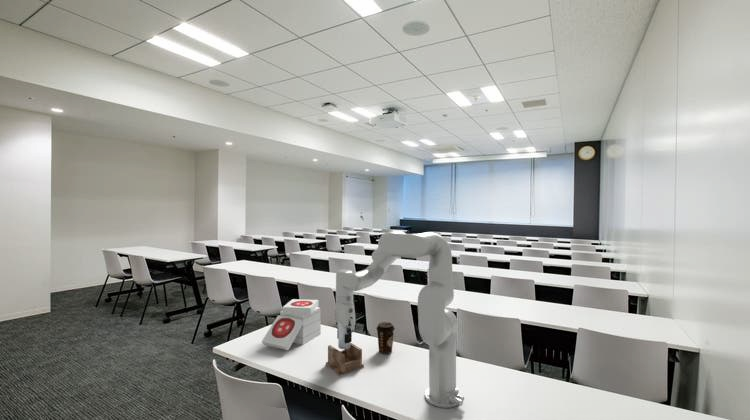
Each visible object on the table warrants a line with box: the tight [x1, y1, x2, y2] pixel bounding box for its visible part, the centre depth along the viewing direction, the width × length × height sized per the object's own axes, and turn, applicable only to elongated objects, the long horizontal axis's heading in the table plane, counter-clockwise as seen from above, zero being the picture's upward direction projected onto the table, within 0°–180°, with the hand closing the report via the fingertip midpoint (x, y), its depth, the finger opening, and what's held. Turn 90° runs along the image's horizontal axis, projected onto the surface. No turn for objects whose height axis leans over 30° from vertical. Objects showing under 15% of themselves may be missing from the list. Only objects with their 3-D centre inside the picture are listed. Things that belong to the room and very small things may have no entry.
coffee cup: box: [376, 321, 396, 355], centre depth 156 cm, size 9×8×13 cm
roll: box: [337, 322, 351, 350], centre depth 142 cm, size 5×5×11 cm
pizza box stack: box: [261, 298, 322, 351], centre depth 169 cm, size 19×30×18 cm, turn 154°
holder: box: [325, 342, 365, 377], centre depth 142 cm, size 12×12×8 cm
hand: (344, 339), depth 142 cm, fingers closed on roll, 5 cm apart
